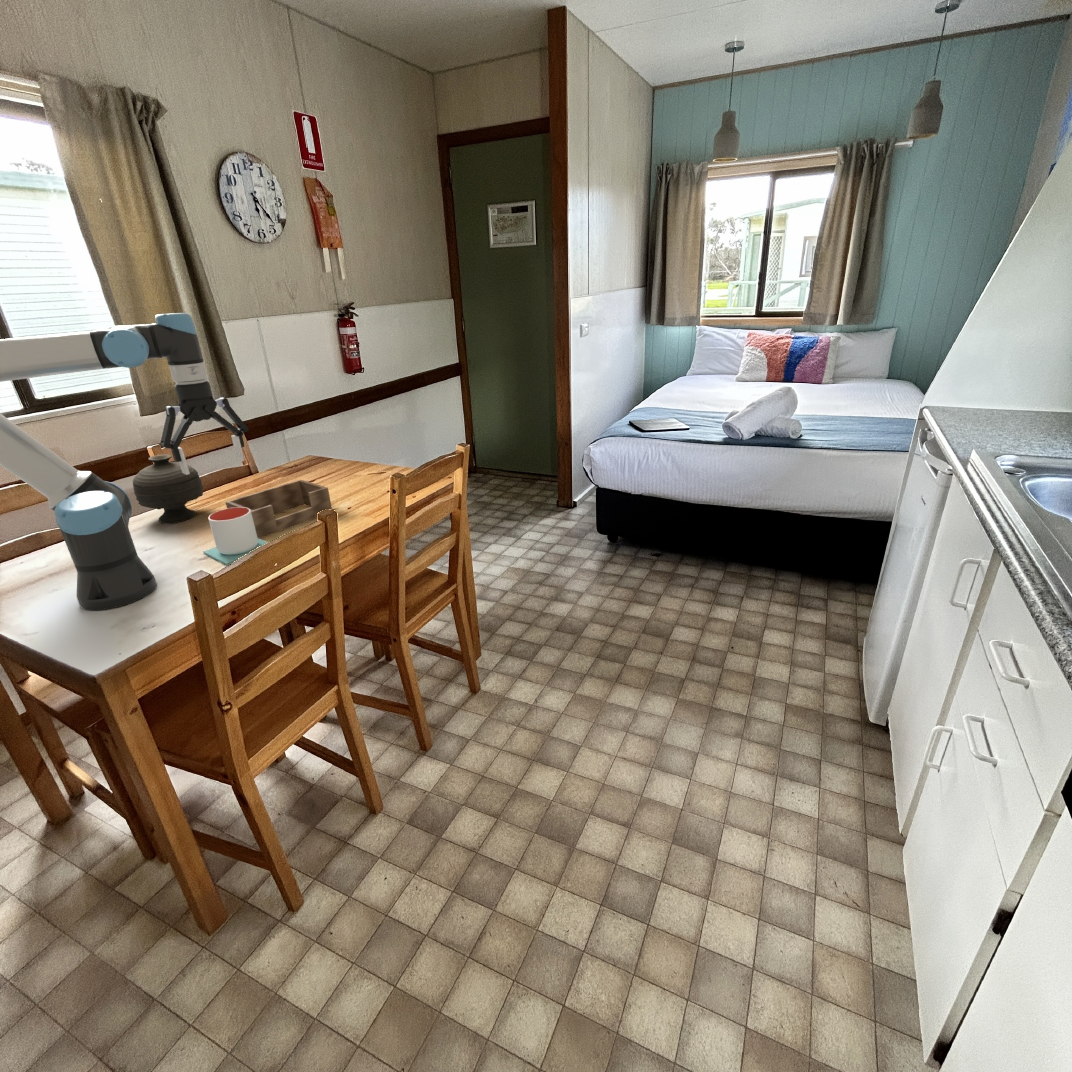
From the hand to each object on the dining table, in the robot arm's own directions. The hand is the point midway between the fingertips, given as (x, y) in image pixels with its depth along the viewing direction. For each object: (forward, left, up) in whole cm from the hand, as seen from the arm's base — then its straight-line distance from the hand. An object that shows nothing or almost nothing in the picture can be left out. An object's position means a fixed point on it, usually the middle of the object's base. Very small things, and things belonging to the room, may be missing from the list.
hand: (214, 466), depth 149 cm
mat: (-1, -3, -23) cm, 23 cm away
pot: (+1, +39, -23) cm, 45 cm away
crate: (+18, +8, -23) cm, 30 cm away
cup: (-1, -3, -22) cm, 22 cm away
